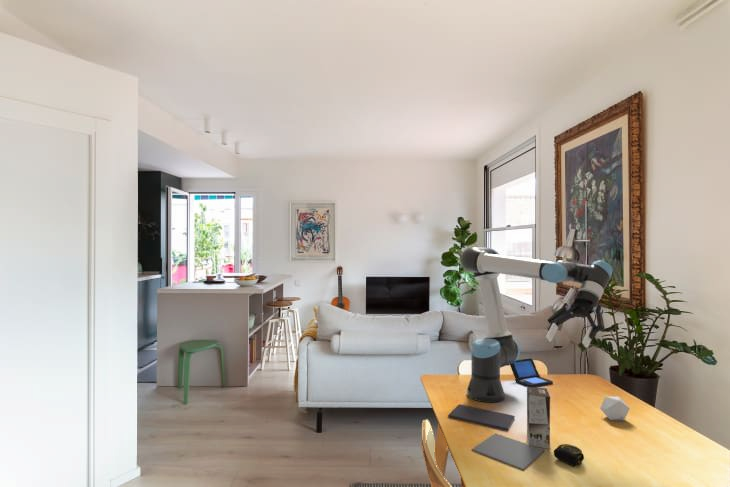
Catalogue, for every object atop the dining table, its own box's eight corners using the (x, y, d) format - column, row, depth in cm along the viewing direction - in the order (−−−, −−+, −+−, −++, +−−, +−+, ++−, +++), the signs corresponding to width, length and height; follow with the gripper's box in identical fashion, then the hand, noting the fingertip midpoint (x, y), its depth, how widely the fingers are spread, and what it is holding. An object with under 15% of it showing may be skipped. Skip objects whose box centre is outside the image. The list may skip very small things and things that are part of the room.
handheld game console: (530, 388, 182) (530, 368, 182) (508, 380, 194) (508, 360, 194) (554, 384, 188) (554, 364, 189) (531, 376, 200) (531, 357, 201)
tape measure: (552, 460, 118) (552, 447, 118) (565, 453, 122) (564, 441, 122) (575, 470, 113) (575, 457, 113) (587, 463, 117) (587, 450, 117)
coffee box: (550, 449, 124) (550, 397, 125) (528, 446, 126) (528, 394, 127) (547, 437, 133) (547, 387, 133) (526, 433, 135) (526, 385, 136)
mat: (471, 450, 123) (471, 448, 123) (495, 434, 134) (495, 433, 134) (523, 470, 112) (523, 468, 112) (544, 451, 123) (544, 449, 123)
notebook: (448, 418, 148) (507, 432, 137) (448, 414, 148) (507, 428, 137) (458, 407, 159) (515, 420, 148) (459, 403, 159) (515, 415, 148)
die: (628, 427, 142) (637, 402, 146) (605, 413, 144) (614, 389, 147) (615, 426, 150) (623, 403, 153) (593, 413, 152) (601, 390, 155)
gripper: (628, 305, 139) (607, 355, 130) (562, 300, 160) (539, 343, 152) (619, 290, 136) (596, 340, 128) (553, 288, 158) (529, 330, 149)
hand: (565, 342), depth 140 cm, fingers open, 13 cm apart
